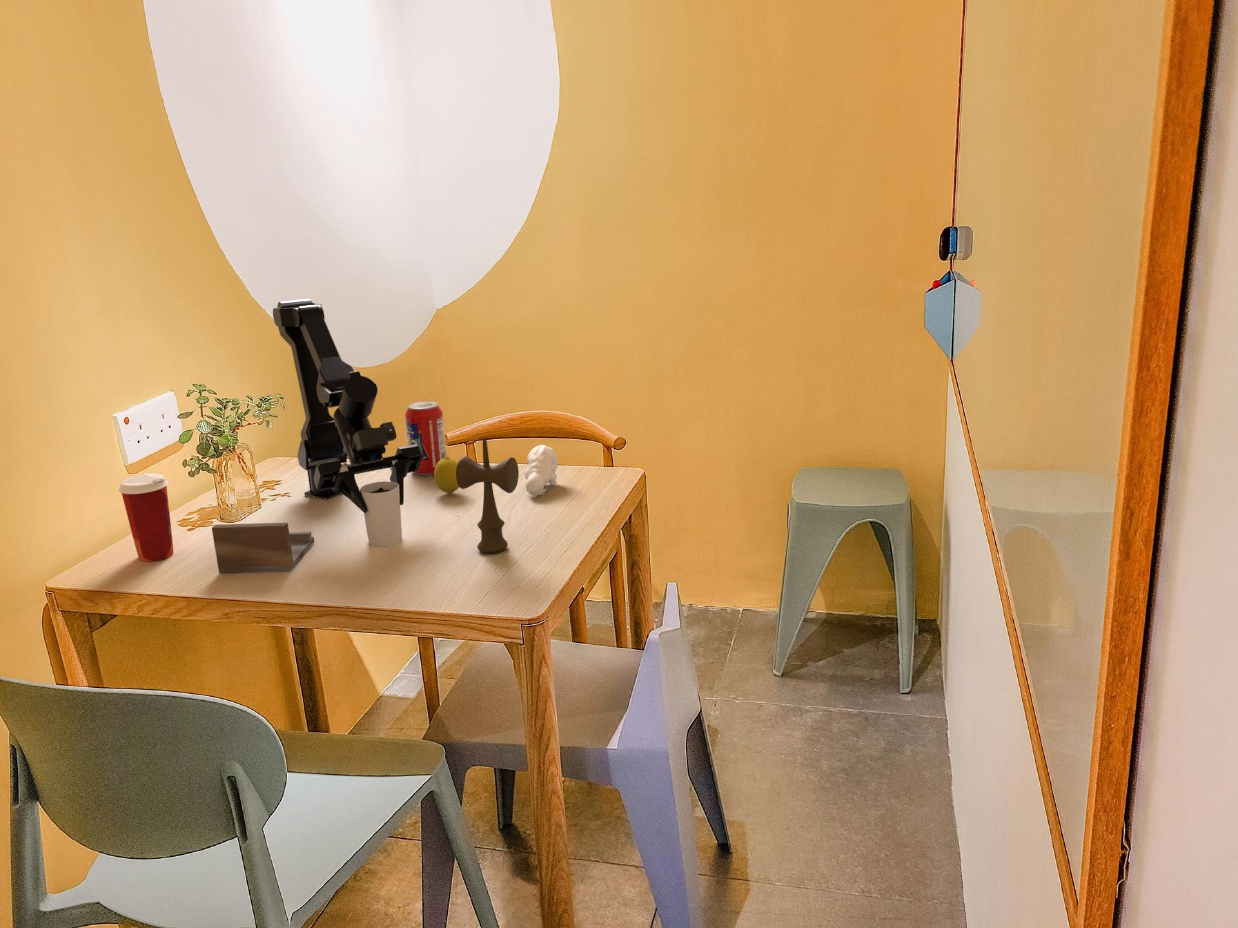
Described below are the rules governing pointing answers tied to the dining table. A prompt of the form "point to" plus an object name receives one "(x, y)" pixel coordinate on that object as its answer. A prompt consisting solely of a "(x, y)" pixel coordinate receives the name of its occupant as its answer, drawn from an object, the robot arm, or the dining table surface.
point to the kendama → (489, 494)
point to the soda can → (426, 434)
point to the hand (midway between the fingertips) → (384, 507)
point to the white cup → (382, 513)
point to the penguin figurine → (540, 469)
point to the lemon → (446, 475)
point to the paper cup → (148, 515)
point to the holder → (259, 547)
